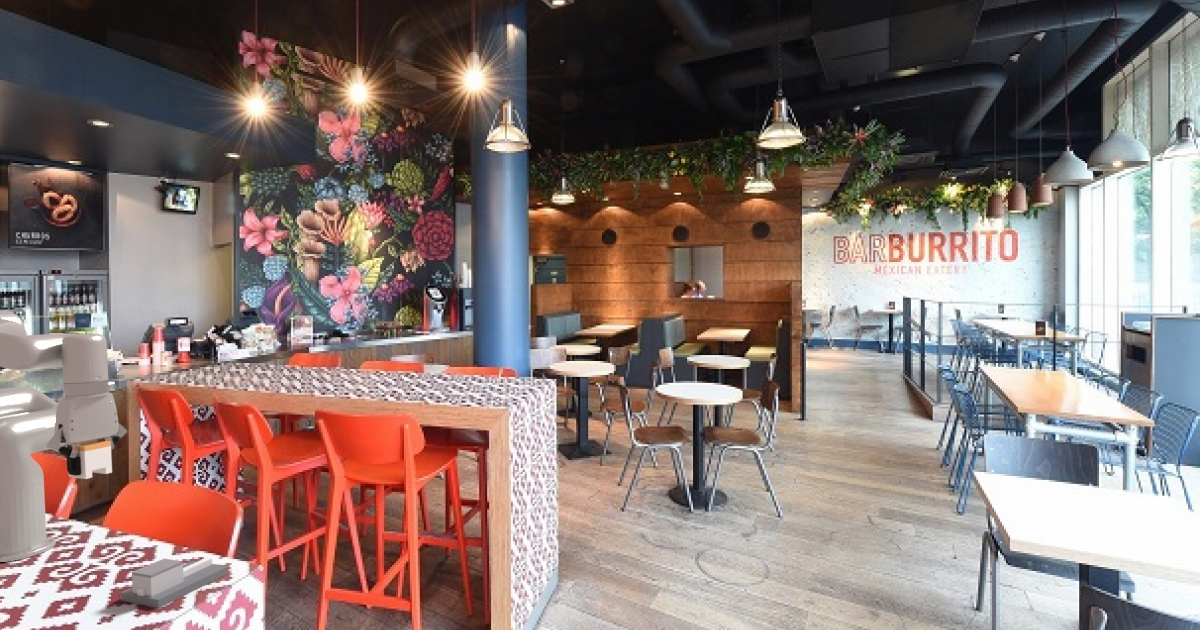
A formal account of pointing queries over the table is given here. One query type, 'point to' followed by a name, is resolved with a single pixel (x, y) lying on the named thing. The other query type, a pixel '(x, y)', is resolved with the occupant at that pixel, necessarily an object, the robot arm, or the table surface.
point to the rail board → (178, 588)
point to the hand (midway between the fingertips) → (90, 470)
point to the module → (94, 458)
